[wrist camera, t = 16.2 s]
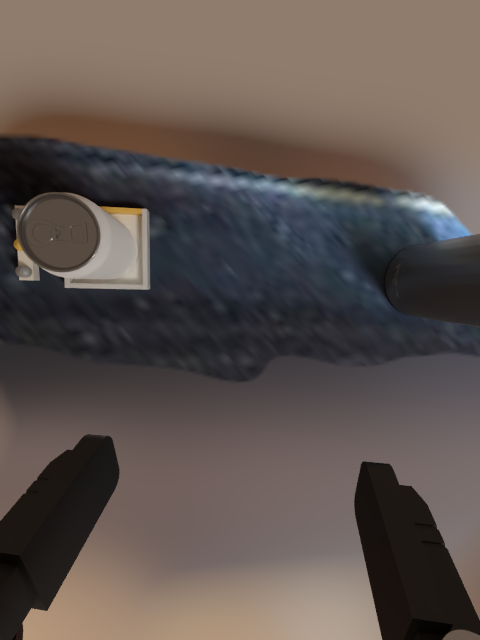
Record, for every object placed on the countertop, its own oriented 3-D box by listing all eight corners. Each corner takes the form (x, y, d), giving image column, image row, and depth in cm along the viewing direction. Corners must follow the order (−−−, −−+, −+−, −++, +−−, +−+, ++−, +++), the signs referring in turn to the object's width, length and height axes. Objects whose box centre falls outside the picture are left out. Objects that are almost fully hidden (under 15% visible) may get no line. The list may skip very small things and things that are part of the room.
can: (74, 220, 33) (3, 185, 21) (136, 219, 34) (102, 185, 22) (80, 280, 34) (15, 279, 22) (140, 278, 34) (110, 276, 23)
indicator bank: (35, 208, 33) (25, 204, 31) (39, 280, 33) (29, 280, 32) (21, 208, 32) (9, 203, 30) (25, 280, 33) (14, 280, 31)
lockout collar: (149, 212, 34) (146, 209, 33) (149, 289, 35) (147, 289, 34) (67, 207, 33) (61, 204, 31) (70, 287, 34) (64, 287, 32)
